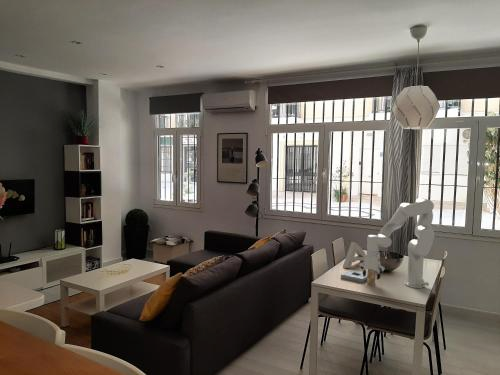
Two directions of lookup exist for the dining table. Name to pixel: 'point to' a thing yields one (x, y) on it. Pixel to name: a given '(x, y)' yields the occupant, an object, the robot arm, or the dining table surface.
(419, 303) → the dining table surface
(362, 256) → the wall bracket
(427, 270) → the dining table surface
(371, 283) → the locking peg
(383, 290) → the dining table surface
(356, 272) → the rosette plate
